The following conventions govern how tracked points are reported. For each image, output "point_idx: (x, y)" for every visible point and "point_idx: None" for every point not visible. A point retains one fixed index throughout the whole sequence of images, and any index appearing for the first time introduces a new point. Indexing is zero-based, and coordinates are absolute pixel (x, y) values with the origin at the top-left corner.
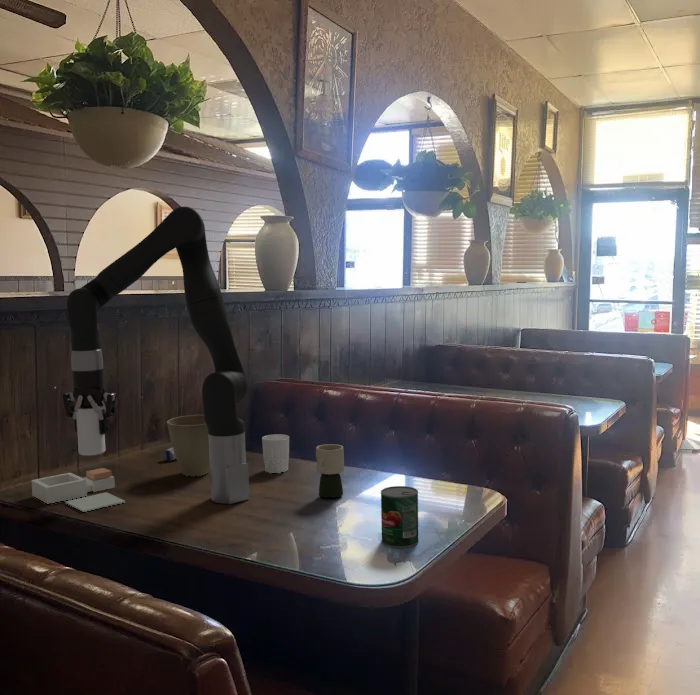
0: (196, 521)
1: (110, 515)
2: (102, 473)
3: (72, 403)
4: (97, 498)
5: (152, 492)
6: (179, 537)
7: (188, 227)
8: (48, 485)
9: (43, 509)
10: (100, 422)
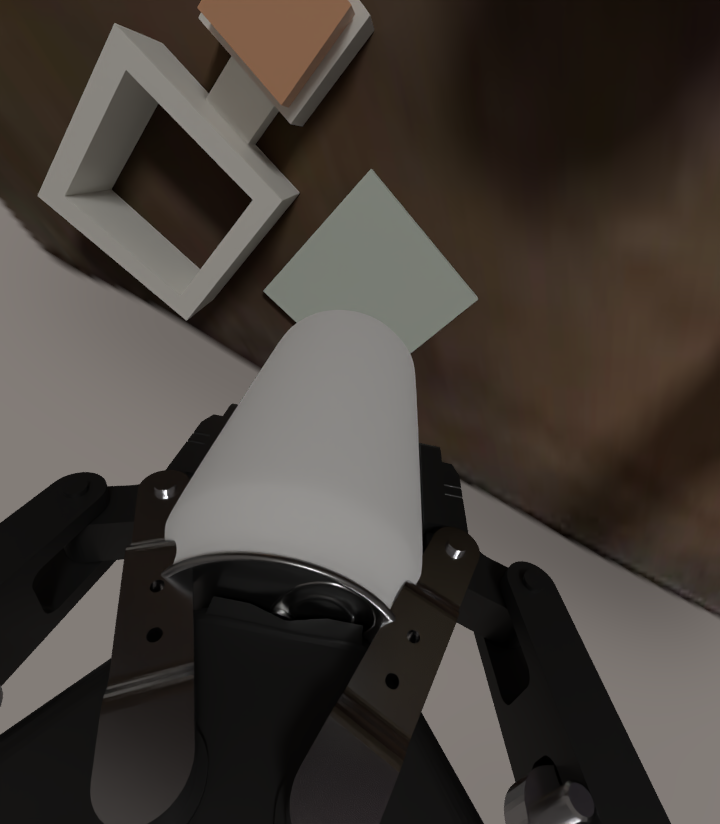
0: (702, 470)
1: (453, 407)
2: (313, 59)
3: (3, 612)
4: (364, 261)
5: (575, 141)
6: (641, 547)
7: None
8: (105, 158)
9: (227, 340)
10: None
